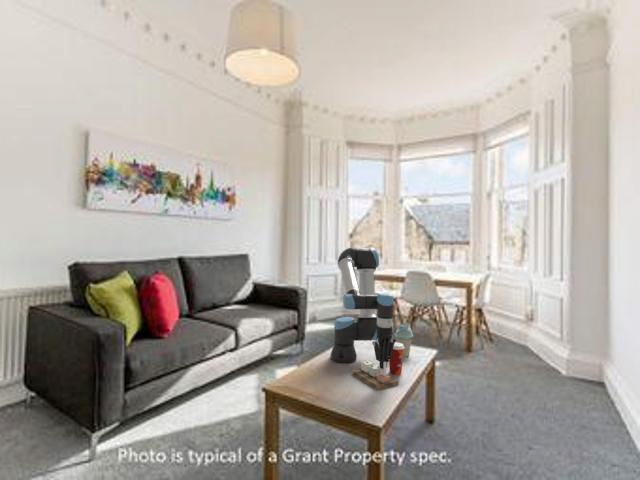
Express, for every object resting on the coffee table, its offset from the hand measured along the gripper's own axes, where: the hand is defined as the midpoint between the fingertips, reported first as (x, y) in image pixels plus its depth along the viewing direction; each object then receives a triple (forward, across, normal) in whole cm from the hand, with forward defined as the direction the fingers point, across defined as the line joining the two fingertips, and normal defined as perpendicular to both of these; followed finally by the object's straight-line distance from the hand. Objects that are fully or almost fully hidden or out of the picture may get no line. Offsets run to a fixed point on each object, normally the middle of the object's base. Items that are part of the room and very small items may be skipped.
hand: (383, 374), depth 169 cm
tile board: (+5, 0, +6) cm, 8 cm away
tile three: (+4, 0, 0) cm, 4 cm away
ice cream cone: (+5, +38, +26) cm, 46 cm away
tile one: (+2, 0, +12) cm, 13 cm away
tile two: (+2, 0, +6) cm, 7 cm away
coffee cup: (+5, +15, +8) cm, 18 cm away
